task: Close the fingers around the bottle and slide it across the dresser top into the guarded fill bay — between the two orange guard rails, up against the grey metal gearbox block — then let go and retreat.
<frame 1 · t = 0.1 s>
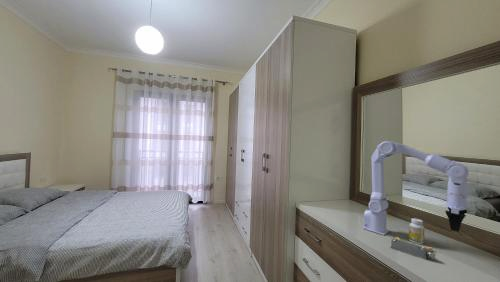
hand: (455, 228, 85), 10 cm above the dresser top, fingers open, 7 cm apart
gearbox: (408, 252, 84), on the dresser top
guard rails: (412, 246, 89), on the dresser top
supplement bottle: (416, 241, 94), on the dresser top
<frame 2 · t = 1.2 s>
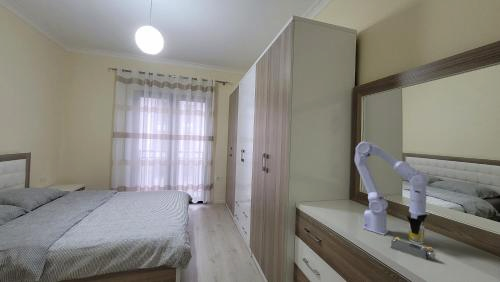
hand: (416, 231, 94), 4 cm above the dresser top, fingers open, 7 cm apart
nothing on the dresser top moved.
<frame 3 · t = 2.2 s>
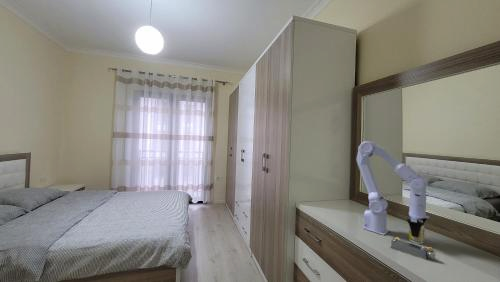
hand: (416, 234, 94), 3 cm above the dresser top, fingers closed on supplement bottle, 5 cm apart
supplement bottle: (416, 241, 94), on the dresser top, touching gripper
when the fingers open (3 cm above the dresser top, at t = 2.9 s): supplement bottle moves 4 cm, on the dresser top.
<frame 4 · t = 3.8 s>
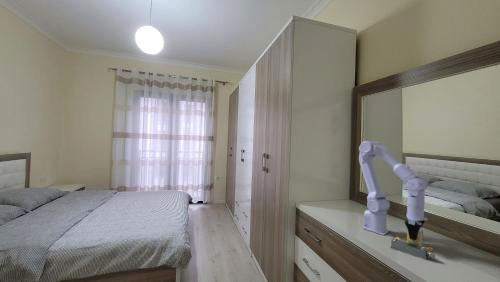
hand: (414, 237, 91), 3 cm above the dresser top, fingers open, 5 cm apart
supplement bottle: (414, 244, 91), on the dresser top, touching gripper
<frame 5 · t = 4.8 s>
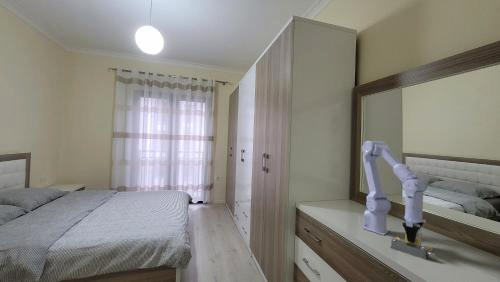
hand: (412, 239, 89), 3 cm above the dresser top, fingers open, 5 cm apart
supplement bottle: (412, 247, 89), on the dresser top, touching gripper
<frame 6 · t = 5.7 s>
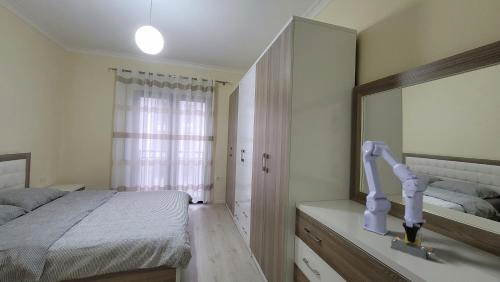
hand: (412, 239, 89), 3 cm above the dresser top, fingers closed on supplement bottle, 5 cm apart
supplement bottle: (412, 247, 89), on the dresser top, touching gripper
when the fingers open (3 cm above the dresser top, at t = 5.9 s): supplement bottle stays where it is, on the dresser top.
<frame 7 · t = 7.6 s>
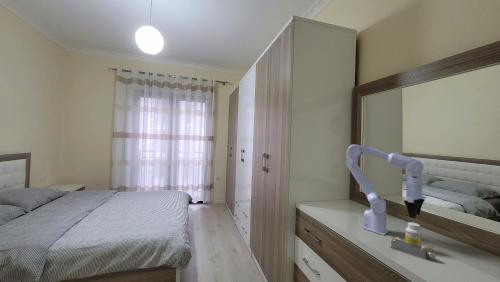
hand: (414, 215, 97), 10 cm above the dresser top, fingers open, 7 cm apart
supplement bottle: (412, 247, 89), on the dresser top
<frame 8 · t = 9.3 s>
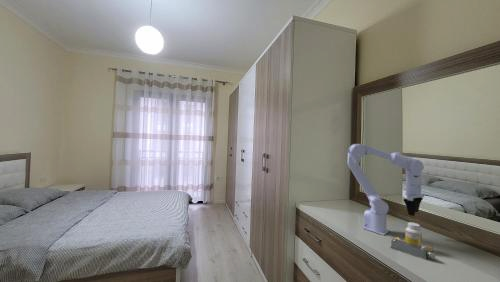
hand: (413, 213, 100), 10 cm above the dresser top, fingers open, 7 cm apart
nothing on the dresser top moved.
at the end: supplement bottle 0.5 cm from the target spot, on the dresser top; supplement bottle tilted 0°; the gripper is holding nothing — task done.
